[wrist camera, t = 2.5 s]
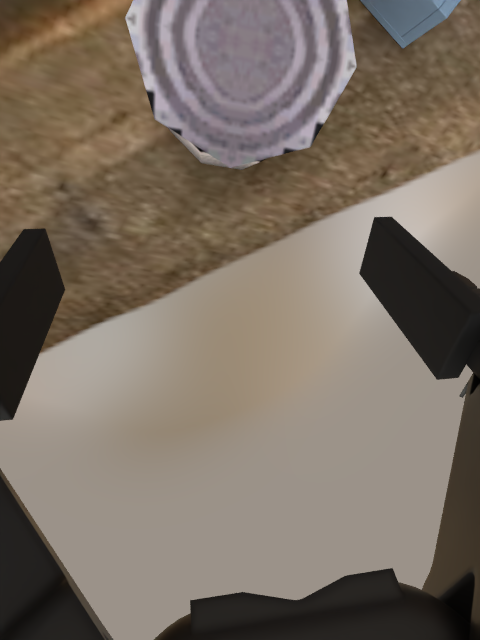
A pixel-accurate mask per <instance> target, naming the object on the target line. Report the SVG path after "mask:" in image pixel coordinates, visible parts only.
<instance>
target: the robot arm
mask: <svg viewBox="0 0 480 640" xmlns="http://www.w3.org/2000/svg"><path fill="white" fill-rule="evenodd" d="M360 275H361V276H362V278H363V279H364V280H365V282H366V283H367V285H368V286H369V287H370V289H371V290H372V291H373V293H374V294H375V295H376V297H377V298H378V300H379V301H380V302H381V304H382V305H383V306H384V308H385V309H386V310H387V312H388V313H389V315H390V316H391V317H392V319H393V320H394V321H395V323H396V324H397V326H398V327H399V328H400V330H401V331H402V332H403V334H404V335H405V336H406V338H407V339H408V341H409V342H410V343H411V345H412V346H413V347H414V349H415V350H416V352H417V353H418V354H419V356H420V357H421V358H422V359H423V361H424V362H425V363H426V365H427V366H428V368H429V369H430V371H431V372H432V373H433V375H434V376H435V377H436V379H438V380H439V379H449V378H458V377H459V376H460V374H461V372H462V371H463V369H464V367H465V365H466V364H467V366H468V367H469V368H470V369H471V370H472V371H473V374H472V376H471V378H470V380H469V381H468V383H467V384H466V386H465V387H464V389H463V391H462V392H461V394H460V397H463V396H464V395H465V394H466V396H465V401H464V407H463V412H462V417H461V422H460V427H459V432H458V437H457V442H456V447H455V453H454V457H453V463H452V468H451V473H450V479H449V484H448V488H447V493H446V498H445V503H444V508H443V514H442V519H441V524H440V529H439V534H438V539H437V544H436V550H435V554H434V560H433V564H432V567H431V570H430V573H429V575H428V577H427V579H426V581H425V583H424V586H423V588H422V590H420V589H418V588H416V587H413V586H410V585H406V584H403V583H399V582H398V581H397V578H396V576H395V573H394V571H393V569H392V568H391V569H385V570H379V571H372V572H366V573H360V574H354V575H347V576H344V577H342V578H340V579H339V580H337V581H335V582H333V583H331V584H329V585H328V586H326V587H324V588H322V589H320V590H318V591H316V592H314V593H312V594H311V595H309V596H307V597H305V598H303V599H300V600H289V599H283V598H276V597H270V596H264V595H257V594H251V593H245V592H241V593H235V594H229V595H222V596H215V597H210V598H203V599H197V600H191V601H190V605H191V613H190V614H188V615H186V616H184V617H183V618H180V619H179V620H177V621H176V622H175V623H173V624H171V625H170V626H169V627H167V628H166V629H165V630H164V631H163V632H162V633H161V634H159V635H158V636H157V637H156V638H155V639H154V640H480V289H477V286H476V285H475V284H474V283H472V282H471V281H470V280H469V279H468V278H466V277H464V276H462V275H460V274H458V273H457V272H455V271H451V270H450V269H449V268H447V267H446V266H445V265H444V264H443V263H442V262H441V261H440V260H439V259H437V258H436V257H435V256H434V255H433V254H432V253H431V252H430V251H429V250H427V249H426V248H425V247H424V246H423V245H422V244H421V243H420V242H419V241H418V240H416V239H415V238H414V237H413V236H412V235H411V234H410V233H409V232H408V231H407V230H406V229H404V228H403V227H402V226H401V225H400V224H399V223H398V222H397V221H396V220H394V219H393V218H392V217H375V218H374V220H373V224H372V228H371V232H370V236H369V239H368V243H367V247H366V251H365V254H364V258H363V262H362V266H361V269H360ZM64 291H65V288H64V285H63V282H62V278H61V275H60V272H59V269H58V266H57V263H56V260H55V257H54V254H53V251H52V248H51V245H50V242H49V238H48V235H47V232H46V229H24V230H23V231H22V232H21V234H20V235H19V237H18V238H17V239H16V241H15V242H14V244H13V245H12V247H11V248H10V249H9V251H8V252H7V254H6V255H5V256H4V258H3V259H2V261H1V262H0V421H1V420H12V419H13V418H14V415H15V413H16V410H17V408H18V405H19V403H20V400H21V398H22V395H23V393H24V390H25V388H26V385H27V383H28V380H29V378H30V375H31V373H32V370H33V368H34V365H35V363H36V360H37V358H38V356H39V353H40V351H41V348H42V346H43V343H44V341H45V338H46V336H47V333H48V331H49V328H50V326H51V323H52V321H53V318H54V316H55V313H56V311H57V308H58V306H59V303H60V301H61V298H62V296H63V293H64ZM0 640H113V639H112V637H111V636H110V634H109V633H108V631H107V630H106V628H105V627H104V626H103V624H102V623H101V621H100V620H99V618H98V617H97V615H96V614H95V612H94V611H93V609H92V608H91V606H90V605H89V603H88V601H87V600H86V598H85V597H84V595H83V594H82V592H81V591H80V589H79V588H78V587H77V585H76V583H75V582H74V580H73V579H72V577H71V576H70V574H69V573H68V571H67V569H66V568H65V567H64V565H63V563H62V562H61V560H60V559H59V557H58V556H57V554H56V553H55V551H54V550H53V548H52V547H51V546H50V544H49V542H48V541H47V539H46V537H45V536H44V534H43V533H42V531H41V530H40V528H39V527H38V525H37V524H36V522H35V521H34V519H33V518H32V516H31V515H30V513H29V512H28V510H27V509H26V507H25V506H24V504H23V503H22V501H21V500H20V498H19V496H18V495H17V493H16V492H15V490H14V489H13V488H12V486H11V484H10V483H9V481H8V480H7V478H6V477H5V475H4V474H3V472H2V470H1V469H0Z"/></svg>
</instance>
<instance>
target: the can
mask: <svg viewBox="0 0 480 640" xmlns="http://www.w3.org/2000/svg"><path fill="white" fill-rule="evenodd" d="M125 18H126V22H127V25H128V29H129V32H130V35H131V39H132V42H133V46H134V49H135V53H136V56H137V60H138V63H139V67H140V70H141V74H142V77H143V80H144V84H145V87H146V91H147V94H148V98H149V101H150V105H151V108H152V112H153V115H154V119H156V120H157V121H159V122H160V123H162V124H163V125H165V126H166V127H168V128H169V130H170V131H171V132H172V133H173V134H174V135H175V136H176V137H177V138H178V139H179V140H180V141H181V142H182V143H183V144H184V145H185V147H186V148H187V149H188V150H189V151H190V152H191V153H192V154H193V155H194V156H195V157H196V158H197V159H198V160H199V161H200V162H201V163H205V164H211V165H217V166H223V167H229V168H235V169H241V170H242V169H245V168H247V167H249V166H252V165H254V164H257V163H259V162H261V161H263V160H265V159H266V158H270V157H274V156H277V155H281V154H285V153H289V152H293V151H296V150H300V149H304V148H308V147H310V146H311V145H312V143H313V141H314V140H315V138H316V136H317V134H318V133H319V131H320V129H321V128H322V126H323V124H324V122H325V121H326V119H327V117H328V115H329V114H330V112H331V110H332V109H333V107H334V105H335V103H336V102H337V100H338V98H339V97H340V95H341V93H342V91H343V90H344V88H345V86H346V84H347V83H348V81H349V79H350V78H351V76H352V74H353V72H354V71H355V69H356V60H355V53H354V46H353V39H352V32H351V26H350V19H349V12H348V5H347V0H133V2H132V4H131V7H130V9H129V11H128V13H127V15H126V17H125Z"/></svg>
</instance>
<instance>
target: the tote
mask: <svg viewBox="0 0 480 640" xmlns="http://www.w3.org/2000/svg"><path fill="white" fill-rule="evenodd" d="M360 1H361V2H362V3H363V4H364V5H365V7H366V8H367V9H368V10H369V11H370V12H371V13H372V15H373V16H374V17H375V18H376V19H377V20H378V21H379V22H380V24H381V25H382V26H383V27H384V28H385V29H386V30H387V32H388V33H389V34H390V35H391V36H392V37H393V38H394V39H395V41H396V42H397V43H398V44H399V45H400V46H401V47H402V48H404V47H406V46H407V45H408V44H410V43H411V42H413V41H414V40H416V39H417V38H419V37H420V36H422V35H423V34H424V33H426V32H427V31H429V30H430V29H432V28H433V27H435V26H436V25H438V24H439V23H440V22H442V21H443V20H445V19H446V18H447V17H448V16H449V15H450V13H451V12H452V11H453V10H454V8H455V7H456V6H457V4H458V3H459V2H460V1H461V0H360Z"/></svg>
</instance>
